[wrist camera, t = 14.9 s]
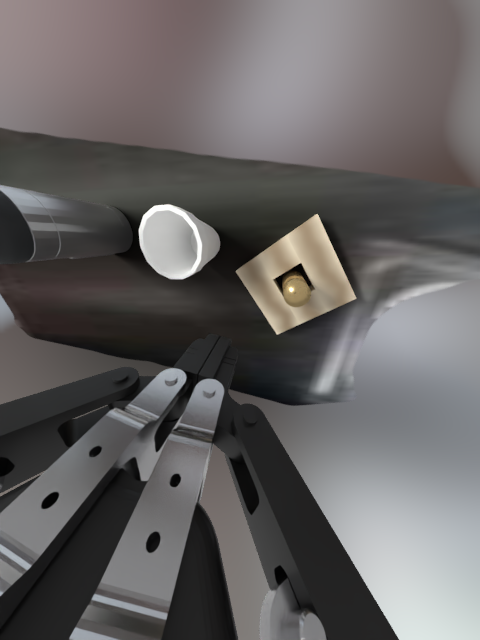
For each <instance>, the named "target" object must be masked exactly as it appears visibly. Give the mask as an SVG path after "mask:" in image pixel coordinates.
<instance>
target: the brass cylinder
mask: <svg viewBox="0 0 480 640" xmlns="http://www.w3.org/2000/svg"><path fill="white" fill-rule="evenodd" d="M282 286H283V296H284V300H285V302H286V303H287V304H288V305H289V306H292V307H301V306H303V305H305V304H306V303H307V302H308V301H309V300H310V297H311V290H310V288H309V286H308V285H307V283H306V281H305V280H304V278H303V276H302V275H301V273H300V272H298V271H296V270H290V271H288V272H286V273H285V274H284V275H283V278H282Z"/></svg>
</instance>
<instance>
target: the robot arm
mask: <svg viewBox="0 0 480 640" xmlns="http://www.w3.org/2000/svg"><path fill="white" fill-rule="evenodd" d="M132 241H133V234H132V229H131V226H130V224H129V222H128V220H127V218H126V217H125V216H124V214H123V213H122V212H121V211H119V210H118V209H117V208H115V207H113V206H109V205H104V204H99V203H93V202H89V201H83V200H78V199H73V198H67V197H62V196H57V195H51V194H46V193H41V192H35V191H30V190H25V189H19V188H14V187H8V186H3V185H0V264H13V263H22V262H31V261H41V260H51V259H61V258H71V259H78V258H87V257H96V256H106V255H114V254H115V253H122V252H126V251H127V250H128V249H129V248H130V247H131V245H132ZM230 346H231V339H230V338H226V337H222V336H221V337H220V336H218V335H214V334H211V333H209V334H208V336H207V337H206V339H205V340H204V339H198V340H196V341H194V342H193V343H192V344H191V346H190V347H189V348H188V349H187V351H186V352H185V353H184V354H183V355H182V357H181V358H180V359H179V360H178V362H177V363H176V364H175V365H174V367H173V368H171V369H167V370H164V371H162V372H161V373H160V374H158V375H157V376H139V374H138V371H137V370H136V369H134V368H131V367H122V368H118V369H115V370H111V371H108V372H105V373H102V374H98V375H95V376H92V377H89V378H85V379H82V380H79V381H76V382H72V383H69V384H66V385H63V386H59V387H56V388H53V389H50V390H46V391H43V392H40V393H37V394H33V395H30V396H27V397H24V398H20V399H17V400H14V401H11V402H8V403H4V404H1V405H0V493H1V492H4V491H5V490H8V489H10V488H11V487H13V486H15V485H17V484H19V483H21V482H23V481H25V480H27V479H29V478H31V477H33V476H35V475H37V474H39V473H41V472H43V471H45V470H46V471H45V472H44V473H43V474H42V475H40V476H38V477H36V478H34V479H32V480H30V481H28V482H27V483H25V484H23V485H21V486H19V487H17V488H16V489H14V490H12V491H10V492H8V493H6V494H4V495H3V496H1V497H0V640H238V636H237V631H236V626H235V622H234V617H233V612H232V607H231V602H230V598H229V592H228V587H227V583H226V578H225V573H224V569H223V563H222V558H221V553H220V548H219V543H218V539H217V536H216V533H215V530H214V527H213V525H212V522H211V520H210V518H209V516H208V515H207V513H206V511H205V510H204V508H203V507H202V506H201V505H200V504H199V503H200V499H201V495H202V490H203V486H204V481H205V477H206V472H207V468H208V464H209V459H210V456H211V451H212V447H213V444H214V445H216V446H217V447H218V448H219V449H221V450H222V451H223V452H224V453H225V457H226V461H227V464H228V466H229V469H230V472H231V475H232V478H233V481H234V484H235V487H236V490H237V493H238V496H239V499H240V502H241V505H242V508H243V511H244V514H245V517H246V520H247V522H248V525H249V528H250V531H251V534H252V537H253V540H254V543H255V546H256V549H257V552H258V555H259V558H260V561H261V564H262V567H263V570H264V573H265V576H266V579H267V582H268V584H269V587H270V591H269V592H268V593H267V595H266V597H265V599H264V602H263V605H262V609H261V615H260V628H259V629H260V630H259V631H260V640H399V639H398V637H397V636H396V634H395V632H394V631H393V629H392V627H391V626H390V624H389V622H388V621H387V619H386V617H385V616H384V614H383V612H382V611H381V609H380V607H379V606H378V604H377V602H376V601H375V599H374V598H373V596H372V594H371V592H370V591H369V589H368V588H367V586H366V584H365V582H364V581H363V579H362V577H361V576H360V574H359V572H358V571H357V569H356V567H355V566H354V564H353V562H352V561H351V559H350V557H349V555H348V554H347V552H346V550H345V549H344V547H343V545H342V544H341V542H340V540H339V539H338V537H337V535H336V534H335V532H334V530H333V529H332V527H331V525H330V524H329V522H328V520H327V519H326V517H325V515H324V514H323V512H322V510H321V509H320V507H319V506H318V504H317V502H316V500H315V499H314V497H313V496H312V494H311V492H310V490H309V489H308V487H307V485H306V484H305V482H304V480H303V479H302V477H301V475H300V474H299V472H298V470H297V469H296V467H295V465H294V464H293V462H292V460H291V459H290V457H289V455H288V454H287V452H286V450H285V449H284V447H283V445H282V444H281V442H280V440H279V439H278V437H277V435H276V434H275V432H274V430H273V429H272V427H271V425H270V424H269V422H268V420H267V419H266V417H265V415H264V414H263V412H262V411H261V410H260V409H259V408H258V407H257V406H255V405H252V404H242V405H240V404H238V403H237V402H235V401H234V400H233V399H232V398H231V397H230V395H229V393H228V390H229V387H230V384H231V381H232V378H233V375H234V371H235V367H236V362H237V358H238V351H237V348H233V347H230ZM107 404H108V406H106V407H104V408H101V409H99V410H97V411H94V412H92V413H89V414H87V415H84V416H82V417H79V418H77V419H73V418H75V417H78V416H80V415H83V414H85V413H87V412H90V411H92V410H95V409H97V408H100V407H102V406H105V405H107Z"/></svg>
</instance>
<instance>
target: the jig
mask: <svg viewBox="0 0 480 640" xmlns="http://www.w3.org/2000/svg"><path fill="white" fill-rule="evenodd" d="M300 263H301V265H302V267H303V269H304V271H305V272H306V274H307V276H308V278H309V280H310V282H311V284H312V285H310V286H309V288H310V290H311V297H310V300H309V301H308V302H307V303H306V304H305V305H303V306H301V307H292V306H289V305H288V304H287V303H286V302H285V300H284V296H283V291H282V290H281V288H280V286H279V285H278V283H277V281H276V279H275V278H277V277H278V276H280V275H282V274H283V273H285V272H286V271H288V270H290V269H291V268H293V267H295V266H296V265H298V264H300ZM236 273H237V274H238V276H239V277H240V279H241V280H242V282H243V283H244V285H245V287H246V288H247V290H248V291H249V293H250V294H251V296H252V297H253V299H254V300H255V302H256V303H257V305H258V306H259V308H260V309H261V311H262V312H263V314H264V315H265V317H266V319H267V320H268V322H269V323H270V325H271V326H272V328H273V329H274V331H275V332H276V334H280V333H282V332H284V331H286V330H288V329H291V328H293V327H295V326H297V325H299V324H302V323H304V322H306V321H308V320H310V319H313V318H315V317H317V316H319V315H321V314H324V313H326V312H328V311H330V310H332V309H335V308H337V307H339V306H341V305H343V304H346V303H348V302H350V301H352V300H354V299H356V296H355V294H354V292H353V290H352V288H351V285H350V283H349V281H348V279H347V277H346V275H345V272H344V270H343V268H342V266H341V264H340V262H339V259H338V257H337V255H336V253H335V251H334V249H333V246H332V244H331V242H330V240H329V238H328V236H327V233H326V231H325V229H324V227H323V225H322V223H321V220H320V218H319V216H318V214H316V215H315V216H313V217H312V218H310V219H309V220H307V221H306V222H304V223H303V224H302V225H300V226H299V227H297V228H296V229H294V230H293V231H292V232H290V233H289V234H287V235H286V236H284V237H283V238H282V239H280V240H279V241H277V242H276V243H274V244H273V245H272V246H270V247H269V248H267V249H266V250H264V251H263V252H262V253H260V254H259V255H257V256H256V257H254V258H253V259H252V260H250V261H249V262H247V263H246V264H244V265H243V266H242V267H240V268H239V269H238V270H236Z"/></svg>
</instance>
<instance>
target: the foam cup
mask: <svg viewBox="0 0 480 640" xmlns="http://www.w3.org/2000/svg"><path fill="white" fill-rule="evenodd" d="M139 240H140V247H141V250H142V252H143V254H144V256H145V258H146V260H147V262H148V263H149V264H150V265H151V266H152V267H153V269H154V270H155V271H156V272H157V273H159V274H161V275H163V276H165V277H167V278H169V279H185V278H187V277H189V276H191V275H193V274H195V273H196V272H198V271H200V270H201V269H202V267H203V266H204V265H205V264H206V263H208V262H209V261H210V260H211V259H212V258H214V257H215V256H216V254H217V253H218V251H219V250H220V239H219V236H218V234H217V232H216V231H215V230H214V229H213V228H212V227H210V226H209V225H207V224H205V223H204V222H202V221H200V220H199V219H197V218H196V217H195V216H194V215H193V214H191V213H189V212H187V211H185V210H183V209H181V208H179V207H176V206H173V205H158V206H154V207H152V208H151V209H150V210H149V211H148V212H147V213H146V214H144V215H143V218H142V221H141V224H140V227H139Z"/></svg>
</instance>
